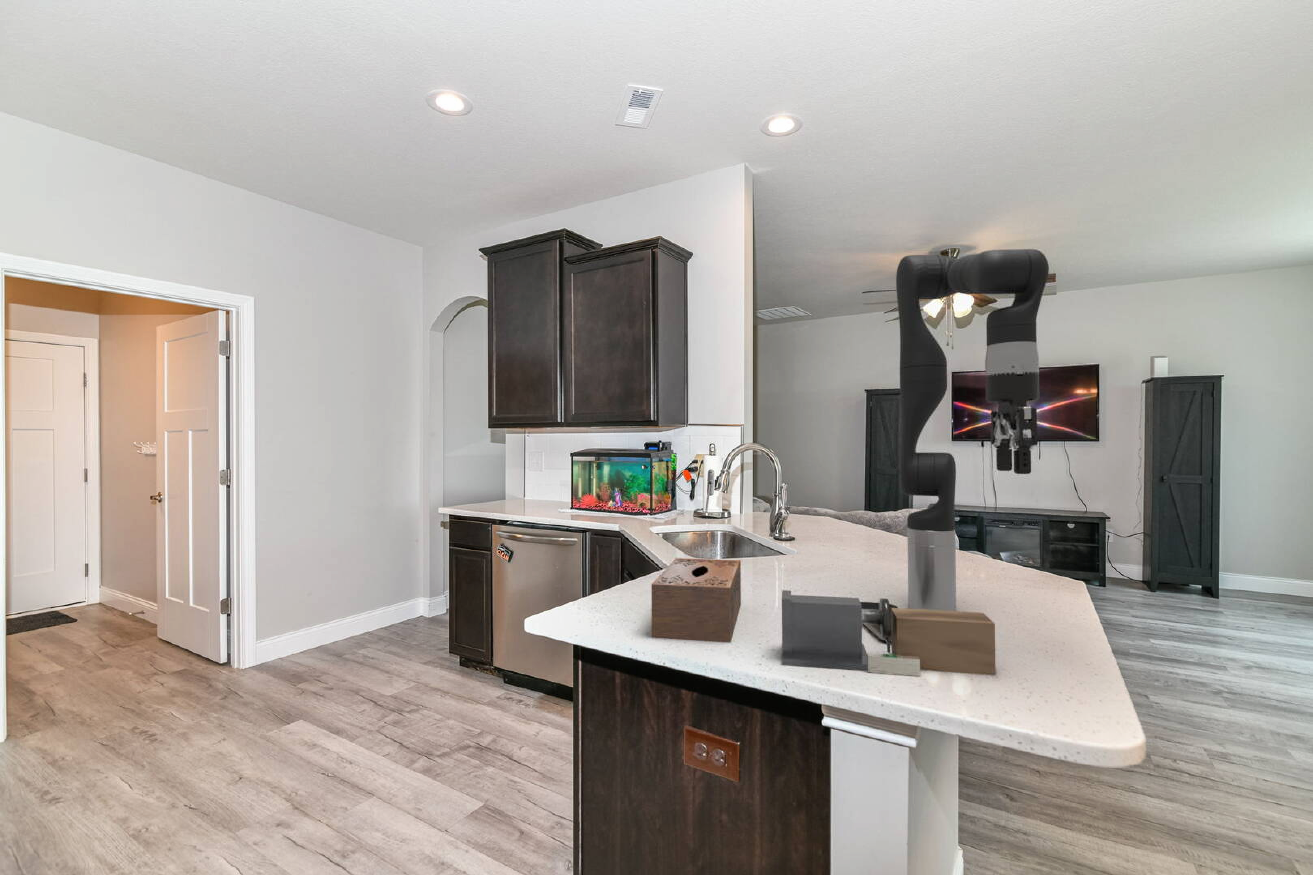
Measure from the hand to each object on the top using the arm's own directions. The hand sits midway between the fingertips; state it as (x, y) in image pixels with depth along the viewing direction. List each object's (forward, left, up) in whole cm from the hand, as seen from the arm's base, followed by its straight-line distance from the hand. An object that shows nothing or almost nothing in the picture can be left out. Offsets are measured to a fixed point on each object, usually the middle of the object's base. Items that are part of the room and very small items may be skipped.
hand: (1013, 472), depth 97 cm
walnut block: (+4, -12, -31) cm, 33 cm away
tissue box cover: (-13, -53, -31) cm, 63 cm away
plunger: (+6, -27, -27) cm, 39 cm away
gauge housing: (+5, -27, -31) cm, 41 cm away
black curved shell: (-13, -18, -31) cm, 38 cm away
